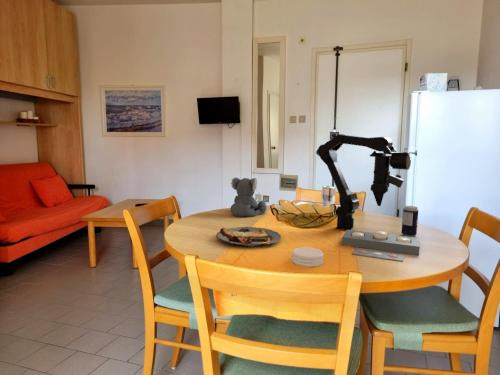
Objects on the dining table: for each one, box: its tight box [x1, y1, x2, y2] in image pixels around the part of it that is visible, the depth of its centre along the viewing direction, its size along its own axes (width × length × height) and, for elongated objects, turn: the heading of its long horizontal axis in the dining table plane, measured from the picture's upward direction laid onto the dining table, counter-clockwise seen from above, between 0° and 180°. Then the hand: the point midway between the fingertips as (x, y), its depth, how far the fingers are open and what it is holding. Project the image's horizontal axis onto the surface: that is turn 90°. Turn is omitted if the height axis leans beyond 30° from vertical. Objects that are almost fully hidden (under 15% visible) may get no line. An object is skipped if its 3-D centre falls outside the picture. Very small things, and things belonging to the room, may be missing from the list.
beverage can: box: [400, 205, 419, 237], centre depth 143 cm, size 6×6×12 cm
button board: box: [341, 229, 421, 256], centre depth 129 cm, size 26×12×3 cm, turn 66°
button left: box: [352, 232, 364, 237], centre depth 132 cm, size 4×4×3 cm
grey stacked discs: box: [291, 246, 324, 268], centre depth 111 cm, size 10×10×4 cm
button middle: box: [373, 230, 388, 240], centre depth 129 cm, size 4×4×3 cm
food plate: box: [215, 226, 282, 248], centre depth 135 cm, size 25×23×4 cm
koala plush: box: [229, 177, 267, 218], centre depth 179 cm, size 17×18×20 cm
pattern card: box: [351, 247, 404, 262], centre depth 119 cm, size 16×7×1 cm, turn 66°
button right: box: [397, 237, 410, 243], centre depth 126 cm, size 4×4×3 cm
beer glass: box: [320, 185, 336, 206], centre depth 178 cm, size 7×7×15 cm
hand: (379, 205), depth 143 cm, fingers closed
